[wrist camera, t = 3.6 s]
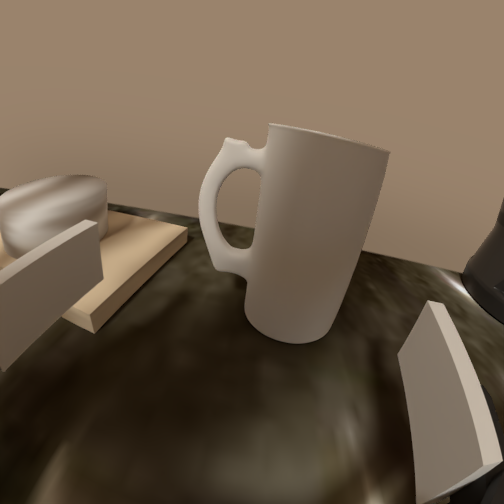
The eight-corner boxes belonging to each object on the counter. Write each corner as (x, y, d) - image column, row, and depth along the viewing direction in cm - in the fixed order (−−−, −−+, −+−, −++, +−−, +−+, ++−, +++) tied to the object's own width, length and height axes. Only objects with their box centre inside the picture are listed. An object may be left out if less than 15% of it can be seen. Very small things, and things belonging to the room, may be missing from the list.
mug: (327, 292, 23) (367, 143, 17) (343, 352, 17) (412, 159, 11) (202, 274, 23) (218, 115, 17) (181, 331, 17) (193, 115, 11)
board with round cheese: (186, 242, 27) (190, 186, 25) (94, 333, 15) (77, 251, 12) (44, 206, 30) (41, 166, 28) (-38, 250, 18) (-48, 201, 15)
